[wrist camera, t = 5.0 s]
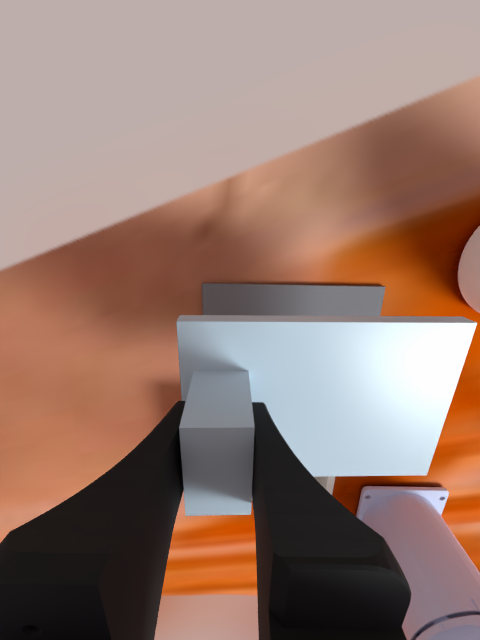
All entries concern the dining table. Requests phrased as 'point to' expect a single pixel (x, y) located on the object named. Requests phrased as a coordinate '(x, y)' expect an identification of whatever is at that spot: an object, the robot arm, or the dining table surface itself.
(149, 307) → the dining table surface
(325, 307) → the mat
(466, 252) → the beverage can
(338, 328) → the lid
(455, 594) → the robot arm
